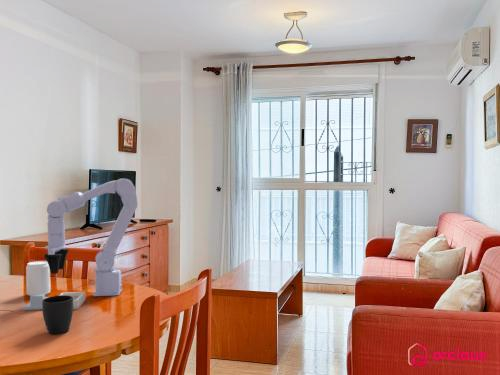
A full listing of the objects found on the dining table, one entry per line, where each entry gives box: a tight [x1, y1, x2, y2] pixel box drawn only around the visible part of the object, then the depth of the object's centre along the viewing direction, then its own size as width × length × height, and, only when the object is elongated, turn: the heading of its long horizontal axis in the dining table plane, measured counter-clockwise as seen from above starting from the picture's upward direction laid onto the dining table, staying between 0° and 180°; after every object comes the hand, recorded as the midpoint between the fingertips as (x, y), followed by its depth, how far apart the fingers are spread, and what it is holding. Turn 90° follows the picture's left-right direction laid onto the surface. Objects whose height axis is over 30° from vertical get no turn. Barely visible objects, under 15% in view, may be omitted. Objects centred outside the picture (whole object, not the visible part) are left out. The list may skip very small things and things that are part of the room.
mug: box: [41, 294, 74, 336], centre depth 139 cm, size 8×12×10 cm
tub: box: [58, 291, 86, 311], centre depth 165 cm, size 8×12×3 cm, turn 6°
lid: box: [22, 294, 49, 311], centre depth 165 cm, size 9×13×4 cm
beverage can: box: [25, 260, 51, 297], centre depth 180 cm, size 8×8×12 cm
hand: (57, 271), depth 173 cm, fingers open, 7 cm apart
